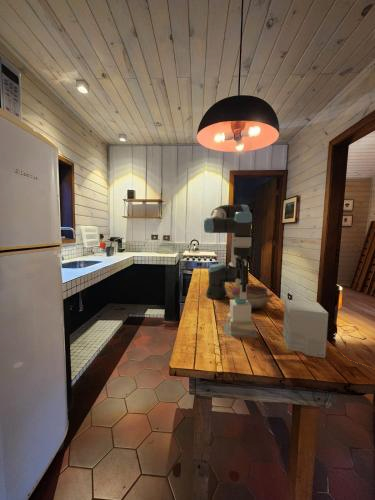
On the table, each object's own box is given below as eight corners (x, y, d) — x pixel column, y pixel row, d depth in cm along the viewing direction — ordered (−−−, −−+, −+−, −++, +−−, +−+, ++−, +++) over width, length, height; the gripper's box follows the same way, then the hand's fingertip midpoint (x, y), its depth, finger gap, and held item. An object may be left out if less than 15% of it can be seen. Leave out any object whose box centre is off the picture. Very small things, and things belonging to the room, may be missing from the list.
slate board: (222, 325, 108) (222, 322, 108) (250, 325, 108) (250, 323, 108) (226, 339, 94) (226, 336, 94) (259, 339, 94) (259, 337, 94)
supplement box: (315, 341, 93) (318, 301, 92) (326, 358, 81) (329, 313, 79) (282, 337, 97) (284, 298, 95) (287, 352, 84) (289, 309, 83)
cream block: (229, 313, 104) (229, 299, 104) (246, 313, 104) (246, 299, 104) (232, 320, 96) (233, 305, 96) (250, 320, 96) (251, 305, 96)
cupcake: (236, 306, 95) (237, 279, 93) (227, 299, 103) (228, 274, 101) (253, 304, 97) (254, 278, 95) (243, 297, 105) (244, 273, 103)
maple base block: (226, 324, 106) (227, 312, 105) (247, 325, 106) (247, 313, 105) (230, 334, 96) (231, 321, 95) (253, 334, 96) (253, 321, 95)
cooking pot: (268, 303, 142) (269, 285, 141) (277, 314, 123) (278, 293, 122) (229, 301, 144) (230, 283, 143) (232, 312, 125) (233, 291, 124)
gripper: (229, 245, 108) (228, 289, 110) (239, 248, 87) (237, 303, 89) (244, 245, 108) (243, 289, 110) (258, 248, 87) (255, 303, 89)
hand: (240, 295), depth 99 cm, fingers open, 9 cm apart
